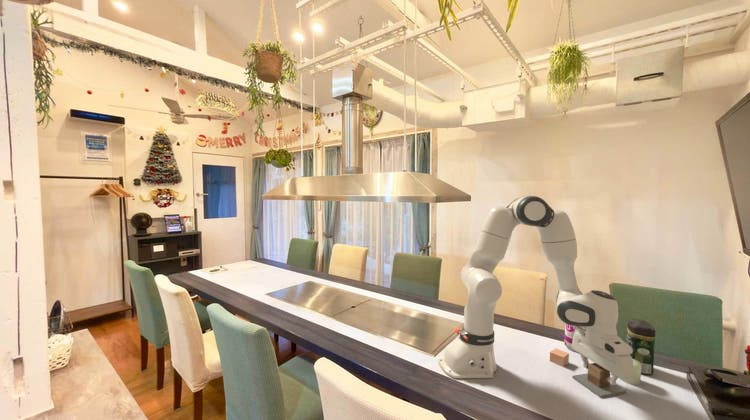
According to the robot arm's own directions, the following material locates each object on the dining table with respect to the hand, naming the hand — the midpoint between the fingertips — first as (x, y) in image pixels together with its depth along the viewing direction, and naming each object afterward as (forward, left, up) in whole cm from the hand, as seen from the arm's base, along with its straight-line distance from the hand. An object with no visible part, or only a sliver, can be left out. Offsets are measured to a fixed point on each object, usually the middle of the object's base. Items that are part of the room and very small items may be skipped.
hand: (598, 375), depth 108 cm
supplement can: (+14, +23, -4) cm, 27 cm away
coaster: (0, 0, -4) cm, 4 cm away
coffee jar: (+25, +5, -4) cm, 26 cm away
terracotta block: (-2, +15, -4) cm, 16 cm away
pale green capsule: (+14, 0, -4) cm, 14 cm away
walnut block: (0, 0, -3) cm, 3 cm away
